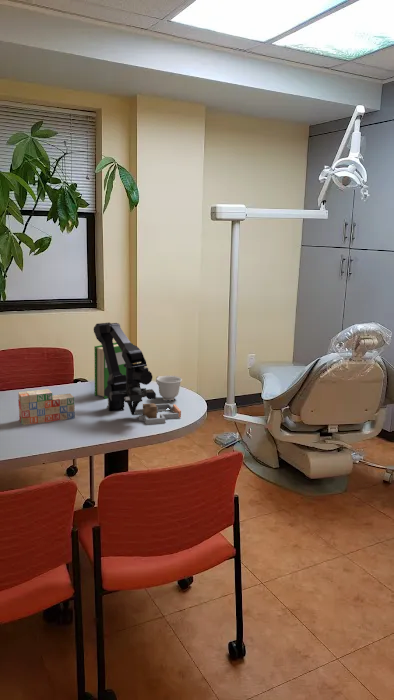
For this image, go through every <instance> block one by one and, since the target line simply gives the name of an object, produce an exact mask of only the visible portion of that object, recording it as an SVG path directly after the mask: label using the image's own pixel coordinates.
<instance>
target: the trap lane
mask: <svg viewBox="0 0 394 700" xmlns="http://www.w3.org/2000/svg"><path fill="white" fill-rule="evenodd" d="M154 404H155V405H156V406H157V414H158V413H160V414H159V417H157V418H148V417H147V416H146V415H143V408H136V410H135V413H134V415H138V421H140V422H144V423H145V424H146V425H154V424H155V425H156V424H166V420H168V418H172V419H180V418H179V417H181V418H182V410H181V409H180V408H179V406H178V405H177V404H171V403H154ZM167 408H169V409H170V410H166V409H167ZM162 411H165V412H168V413H162ZM171 411H174V412H175V413H174V412H171ZM169 412H170V413H169Z"/></svg>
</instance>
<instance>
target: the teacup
mask: <svg viewBox="0 0 394 700" xmlns="http://www.w3.org/2000/svg"><path fill="white" fill-rule="evenodd" d="M182 381H183V378H181V377H180V376H176V375H161V376H160V375H157V376H156V378H155V382H156V385H158V393H159V396H161V397H162V400H163V401H165V400H173V401H175V400H176V397H177V396H178V395H179V393H180V386H181V382H182ZM174 399H175V400H174Z"/></svg>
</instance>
